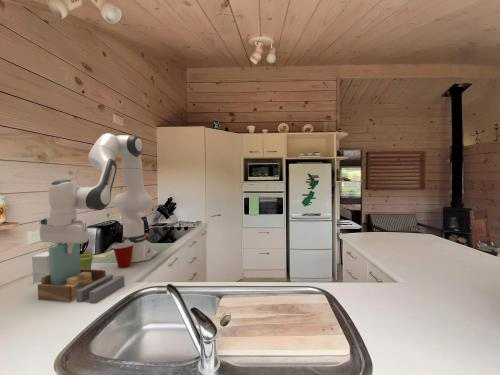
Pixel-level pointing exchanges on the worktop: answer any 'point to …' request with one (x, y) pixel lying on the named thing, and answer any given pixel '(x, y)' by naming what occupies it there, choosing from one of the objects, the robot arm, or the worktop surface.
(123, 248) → the plastic cup
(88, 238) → the robot arm
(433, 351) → the worktop surface
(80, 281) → the offcut stack
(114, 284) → the sheet stand
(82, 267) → the plant pot
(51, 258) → the tall sheet
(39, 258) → the supplement box
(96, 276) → the open wooden tray
